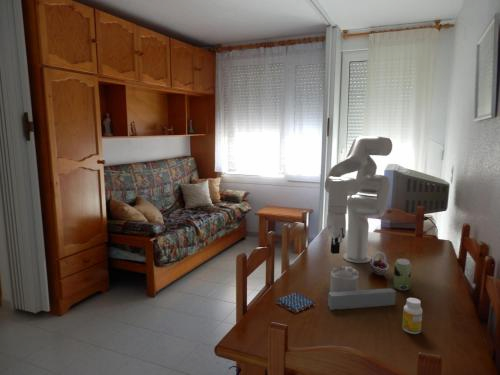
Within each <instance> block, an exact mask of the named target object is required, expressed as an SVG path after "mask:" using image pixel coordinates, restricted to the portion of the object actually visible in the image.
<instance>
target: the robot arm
mask: <svg viewBox="0 0 500 375" xmlns="http://www.w3.org/2000/svg"><path fill="white" fill-rule="evenodd" d="M349 148H350V149H349V151H348V153H347V154H346V158H344V159H342V160H340V161H339V162H337V163H336V164H335V165H333V166H332V167H331V168H330V170H329V172H328V173H327V176H326V179H325V182H324V190H325V192H326V193H327V194H328V198H327V199H328V200H327V201H328V202H327V215H326V224H325V233H326V235H327V236H329V237H330V253H331V254H340V250H341V243H343V239H345V237H346V236H347V237H346V239H347V240H346V241H347V242H346V247H345V249H346V252H345V253H344V254H342V256H343V258H342V259H344V260H345V261H347V262H350V263H356V264H366V263H369V262H370V261H371V257H370V256H369V255H368V247H369V246H368V244H369V229H370V228H369V221H368V219H367V217H374V218H380V217H383V216H384V215H385V213H386V209H387V204H388V200H389V193H390V188H391V187H390V186H391V181H390V179H389V177H388V176H386V175H384V174H377V169H378V166H377V163H376V161H374V159H373V158H372V157H371V156H382V157H387V156H389V155H390V154H391V153H392V152H393V142H392V139H390V138H389V137H385V136H370V135H369V136H368V135H367V136H365V135H363V136H361V135H360V136H358V137H355V139H354V140H353V141H352V144H351V146H350V147H349ZM355 172H357V173H356V177H355V178H353V177H343V176H344V175H347V174H351V173H355ZM358 193H359V194H358ZM346 215H347V216H348V217H347V216H346ZM366 216H367V217H366ZM346 217H347V219H346ZM346 225H347V226H346ZM346 228H347V229H346ZM346 230H347V231H346ZM346 232H347V235H346Z"/></svg>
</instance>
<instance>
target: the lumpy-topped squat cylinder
mask: <svg viewBox="0 0 500 375" xmlns="http://www.w3.org/2000/svg"><path fill="white" fill-rule="evenodd" d="M329 278H330V279H329V280H330V282H329V283H330V284H329V292H343V291H358V290H359V282H360V281H359V278H360V273H359V271H358V270H356V269H355V268H353V267H352V266H345V265H341V266H338V267H335V266H334V267H333V268H332V269H331V271H330V277H329Z"/></svg>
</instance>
